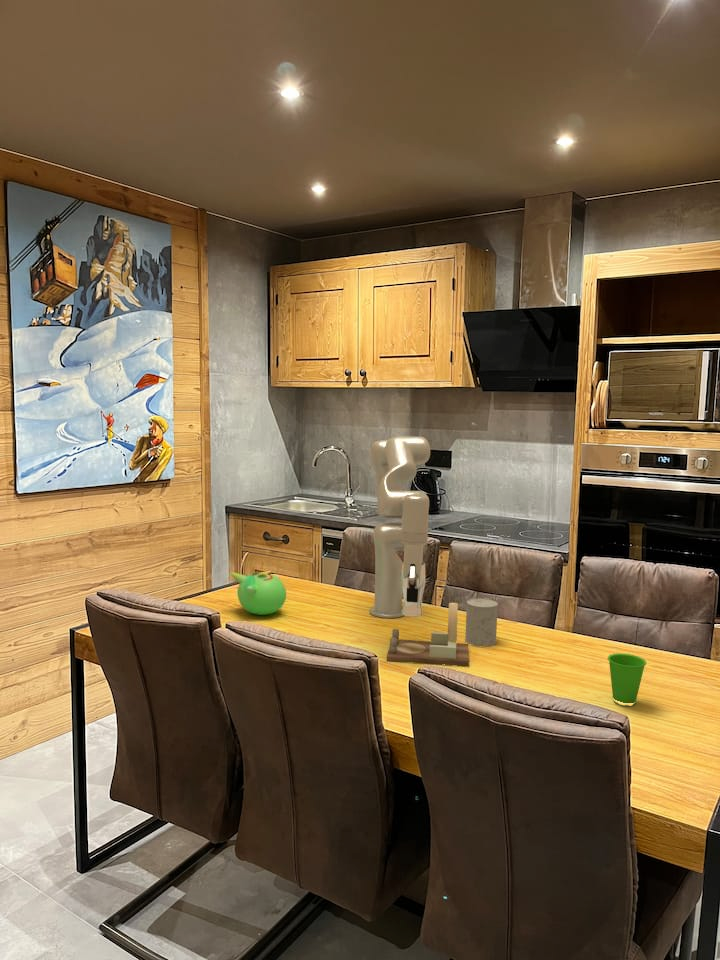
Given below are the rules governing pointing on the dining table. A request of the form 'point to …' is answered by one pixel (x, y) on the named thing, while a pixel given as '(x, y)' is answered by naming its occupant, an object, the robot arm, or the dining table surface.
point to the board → (422, 652)
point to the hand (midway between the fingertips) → (412, 598)
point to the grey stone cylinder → (481, 622)
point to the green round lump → (260, 592)
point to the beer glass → (416, 607)
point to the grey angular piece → (446, 637)
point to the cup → (625, 676)
